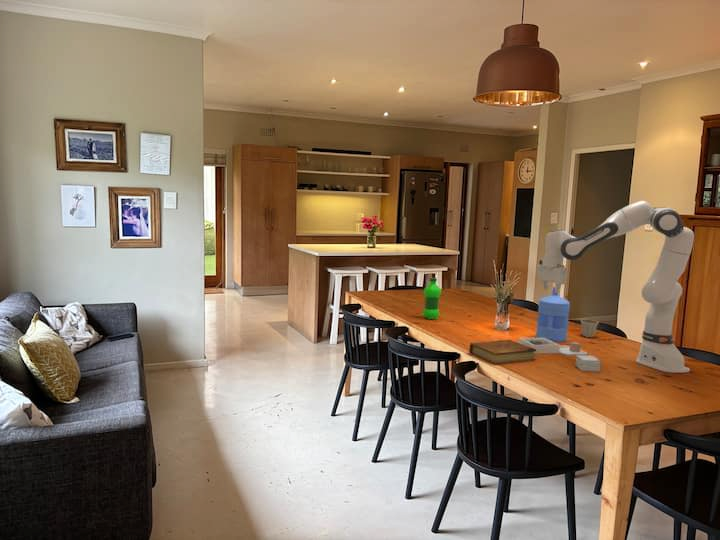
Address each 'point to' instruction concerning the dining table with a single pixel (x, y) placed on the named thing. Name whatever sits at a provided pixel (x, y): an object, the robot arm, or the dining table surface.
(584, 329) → the flower pot
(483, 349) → the diary
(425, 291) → the plastic bottle
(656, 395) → the dining table surface
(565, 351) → the tray
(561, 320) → the water jug
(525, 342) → the flat white box
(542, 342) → the pebble slate
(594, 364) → the small box
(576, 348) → the pebble brown
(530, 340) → the pebble charcoal
